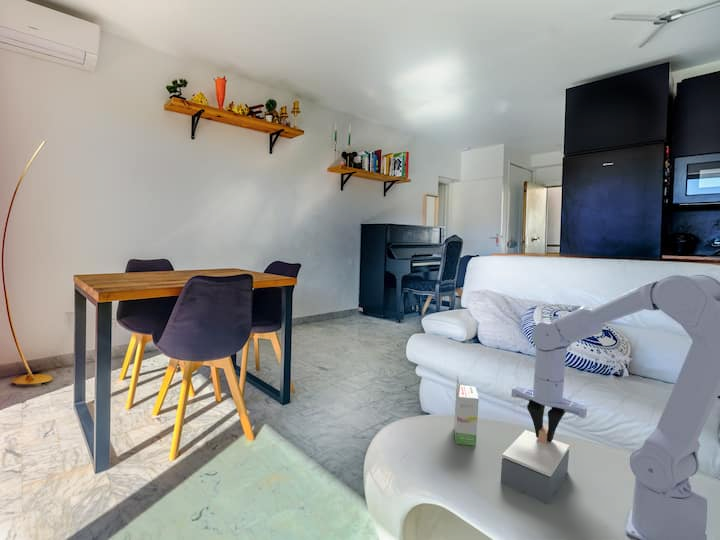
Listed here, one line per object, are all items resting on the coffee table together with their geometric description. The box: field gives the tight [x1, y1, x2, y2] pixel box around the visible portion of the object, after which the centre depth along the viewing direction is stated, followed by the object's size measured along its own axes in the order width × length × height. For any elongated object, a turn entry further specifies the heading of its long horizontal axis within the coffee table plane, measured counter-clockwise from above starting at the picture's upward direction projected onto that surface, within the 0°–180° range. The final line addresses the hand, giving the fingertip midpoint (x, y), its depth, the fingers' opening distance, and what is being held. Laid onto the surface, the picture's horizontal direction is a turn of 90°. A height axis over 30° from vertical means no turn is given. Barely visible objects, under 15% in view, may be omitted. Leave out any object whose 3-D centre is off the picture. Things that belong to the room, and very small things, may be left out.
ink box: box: [453, 374, 480, 447], centre depth 91 cm, size 9×5×15 cm, turn 168°
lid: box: [501, 425, 570, 477], centre depth 76 cm, size 9×14×3 cm, turn 138°
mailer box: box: [500, 448, 570, 505], centre depth 76 cm, size 9×14×5 cm, turn 138°
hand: (544, 438), depth 80 cm, fingers closed on lid, 2 cm apart
